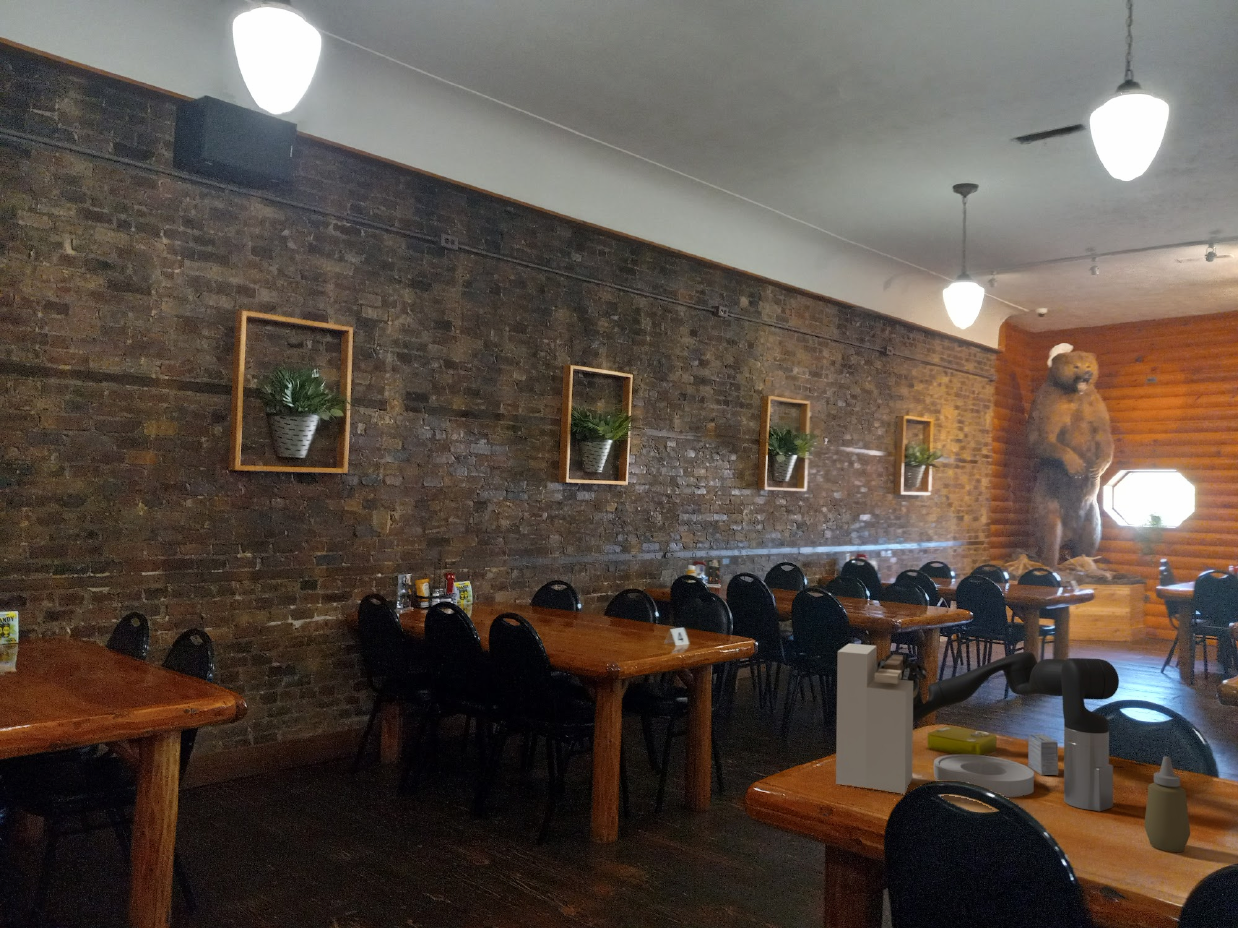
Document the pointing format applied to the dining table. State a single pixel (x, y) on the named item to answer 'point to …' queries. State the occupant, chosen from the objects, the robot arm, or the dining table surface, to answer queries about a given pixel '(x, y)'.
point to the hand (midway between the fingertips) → (896, 658)
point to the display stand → (872, 724)
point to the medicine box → (1043, 754)
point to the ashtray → (986, 773)
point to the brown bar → (891, 670)
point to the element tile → (962, 741)
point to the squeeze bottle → (1167, 811)
